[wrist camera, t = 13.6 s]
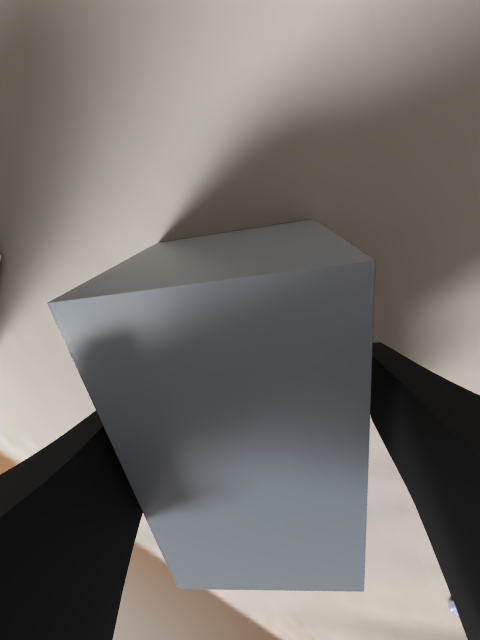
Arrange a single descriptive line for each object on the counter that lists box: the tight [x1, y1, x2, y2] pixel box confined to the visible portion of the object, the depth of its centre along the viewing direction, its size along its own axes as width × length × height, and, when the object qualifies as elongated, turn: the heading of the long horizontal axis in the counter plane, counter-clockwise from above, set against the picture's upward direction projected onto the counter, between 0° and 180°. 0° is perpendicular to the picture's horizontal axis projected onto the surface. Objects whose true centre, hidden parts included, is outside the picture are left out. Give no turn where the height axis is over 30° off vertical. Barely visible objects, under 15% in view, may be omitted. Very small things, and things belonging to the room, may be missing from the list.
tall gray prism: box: [47, 219, 375, 591], centre depth 10 cm, size 10×6×6 cm, turn 9°
